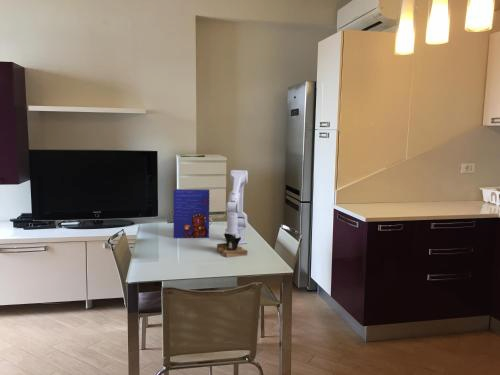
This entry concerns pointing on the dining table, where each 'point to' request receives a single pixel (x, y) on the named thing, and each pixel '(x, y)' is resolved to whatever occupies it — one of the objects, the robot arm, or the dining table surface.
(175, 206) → the cereal box
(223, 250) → the jig
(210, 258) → the dining table surface
